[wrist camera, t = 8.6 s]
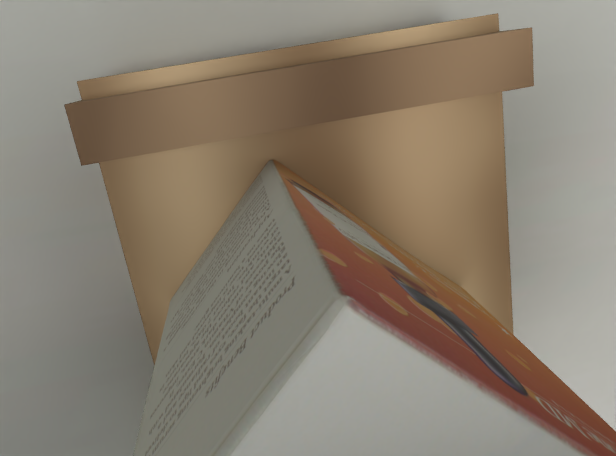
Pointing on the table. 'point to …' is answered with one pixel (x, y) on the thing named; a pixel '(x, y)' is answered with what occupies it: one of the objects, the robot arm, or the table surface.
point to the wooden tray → (316, 148)
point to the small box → (343, 350)
